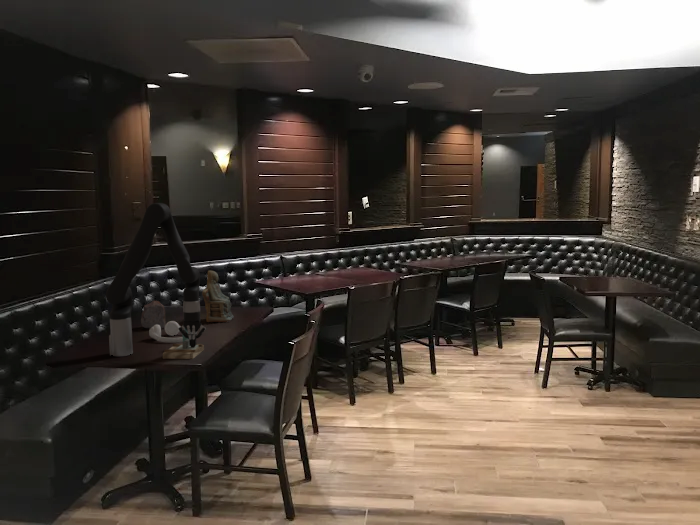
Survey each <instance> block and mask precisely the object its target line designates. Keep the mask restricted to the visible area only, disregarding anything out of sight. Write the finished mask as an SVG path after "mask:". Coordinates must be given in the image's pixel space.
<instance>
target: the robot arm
mask: <svg viewBox="0 0 700 525" xmlns="http://www.w3.org/2000/svg"><path fill="white" fill-rule="evenodd" d="M141 220H142V221H141V223H140V225H139V228H138V230H137V232H136V234H135V235H134V238H133V240H132V242H131V244H130V245H129V247H128V249H127V251H126V253H125V255H124V258H123V260H122V262H121V264H120V267H119V269H118V271H117V273H116V275H115V277H114V278H113V280H112V281H111V283H110V285H109V286H108V288H107V289H106V292H105V298H106V301H107V303H109V304H110V305H112V307H111V311H110V312H109V327H110V334H109V335H108V341H109V343H108V344H109V356H111V355H113V357H126V356H130V354H131V355H132V354H133V353H134V347H133V330H132V329H133V328H132V327H133V326H132V311H133V292H132V288H131V284H132V281H133V280H134V279H135V277H136V276H137V274H138V273H139V272H140V271H141V270H142V269H143V267H144V266H145V264H146V262H147V260H148V258H149V257H150V254H151V251H152V249H153V248H152V247H153V242H154V237H155V234H156V233H157V231H158V229H159V227H160V229H161V230H162V232H163V234H164V237H165V239H166V240H165V241H166V243H167V248H168V250H169V253H170V255H171V257H172V259H173V260H174V262H175V265H176V269H177V272H178V276H179V277H180V280H182V282H183V283H185V286H184V289H183V292H182V294H183V298H182V299H183V300H182V302H183V304H182V306H183V307H182V310H183V311H182V312H183V323H182V325H183V326H181V325H180V326H181V327H180V328H179V333H181V335H182V334H183V335H184V337H185V338H188V339H189V344H190V346H191V347H195V346H196V344H197V339H199V338H201V337H202V335H203V333H204V332H205V331H206V330H207V327H206V326H204V325H203V323H202V321H201V304H200V294H199V293H200V291H199V290H200V289H199V288H200V285H201V284H200V282H201V272H200V270H199V268H197V267H196V266H192V263H191V257H190V254H189V252H188V250H187V248H186V246H185V245H184V242H183V240H182V238H181V236H180V233H179V231H178V229H177V226H176V223H175V221H174V218H173V214H172V210H171V208H170V207H169V205H168V204H166V203H163V202H153V203H151V204H150V205H148V206H147V207H146V210H145V213H144V215H143V217H142V219H141ZM185 329H186V330H187V331H188V333H187V332H186V331H185ZM198 331H199V332H198Z"/></svg>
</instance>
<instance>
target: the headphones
mask: <svg viewBox="0 0 700 525" xmlns="http://www.w3.org/2000/svg"><path fill="white" fill-rule="evenodd" d="M180 327H181V325H180V324H179V323H178V322H176V321H175V320H171V321H168V322H167V323H165V327H163V328H164V332H165V333H166V335H168V336H169V337H164V336H162V328H161V327H160V325H154V326H153V327H151V328H149V331H148V332H149V333H148V334H149V337H150V338H151V339H153V340H155V341H157V342H161V343H167V344H168V343H169V344H170V343H172V344H178V343H183V337H182V336H181V337H174V335H175V336H177V335H178V334H179V333H180V331H179V328H180ZM172 336H173V337H172Z"/></svg>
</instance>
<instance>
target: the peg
mask: <svg viewBox="0 0 700 525" xmlns="http://www.w3.org/2000/svg"><path fill="white" fill-rule="evenodd" d="M182 326H183V324H182ZM185 331H186V332H187V333H188V331H187V330H186V329H185ZM181 335H182V336H181V337H183V342H184V341H185V340H187V339H188V338H185V337H184V335H183V334H182V333H181ZM183 342H182V343H183Z"/></svg>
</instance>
